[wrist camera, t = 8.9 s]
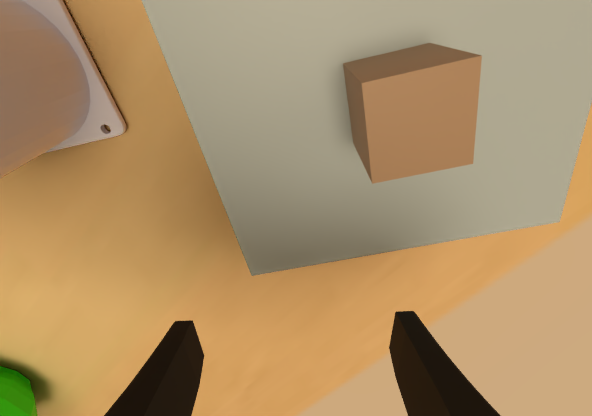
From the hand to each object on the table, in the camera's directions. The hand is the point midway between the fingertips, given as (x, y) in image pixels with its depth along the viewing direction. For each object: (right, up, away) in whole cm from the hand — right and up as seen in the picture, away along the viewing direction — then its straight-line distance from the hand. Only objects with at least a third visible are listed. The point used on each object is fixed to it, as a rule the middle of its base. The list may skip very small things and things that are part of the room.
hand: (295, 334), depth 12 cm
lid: (+3, +9, +1) cm, 10 cm away
